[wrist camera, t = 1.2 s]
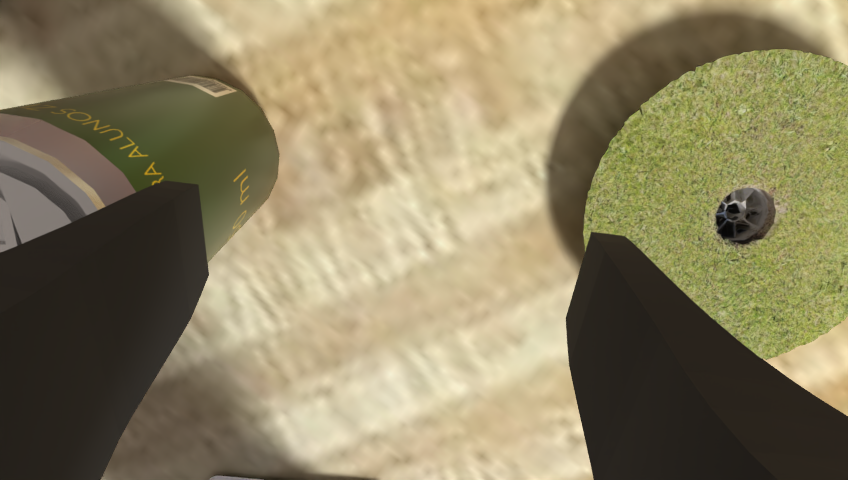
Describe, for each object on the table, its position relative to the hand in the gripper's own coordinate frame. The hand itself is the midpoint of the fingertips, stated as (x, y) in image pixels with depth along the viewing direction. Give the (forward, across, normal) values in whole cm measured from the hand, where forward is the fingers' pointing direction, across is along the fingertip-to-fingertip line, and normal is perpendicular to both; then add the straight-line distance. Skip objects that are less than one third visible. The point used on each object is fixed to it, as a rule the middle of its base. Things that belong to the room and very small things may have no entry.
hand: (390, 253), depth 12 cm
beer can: (+11, +8, +4) cm, 14 cm away
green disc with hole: (+12, -11, +4) cm, 17 cm away
